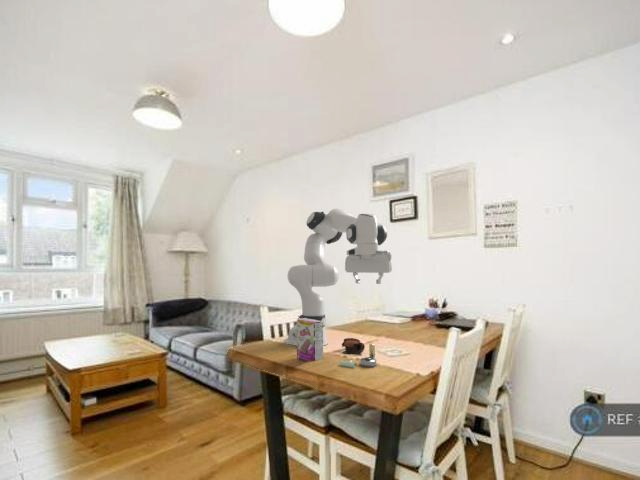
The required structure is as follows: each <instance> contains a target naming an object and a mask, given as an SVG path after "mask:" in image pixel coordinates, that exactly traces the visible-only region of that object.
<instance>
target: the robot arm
mask: <svg viewBox="0 0 640 480" xmlns="http://www.w3.org/2000/svg"><path fill="white" fill-rule="evenodd" d="M306 226H307V228H308V229H310V230H312V231H313V232H314V233H311V234H309V236H308V237H307V239H306V242H305V247H304V254H303V259H304V262H305V263H306V264H299V265H293V266H291V267H290V268H289V269H288V271H287V280H288V283H289V284H290V285H291V286H292V287H294V289H296V291H297V292H298V294H299V296H300V298H301V299H300V300H301V310H302V311H301V313H302V314H300V315H298V316H297V319H302V318H307V319H313V320H318V321H323V346H325V345H327V344H329V342H328V339H327V334H326V327H325V326H326V314H325V299H324V298H323V296H322V295H320V294H319V293H316V292H315V291H313V289H312V288H315V287H317V288H319V287H322V288H323V287H324V288H325V287H331V286H335V285H336V284H337V283H338V281H339V275H340V274H339V273H340V272H339V271H338V269H337V268H336V266H334V265H332V264H330V263H329V261H327V259H326V253H325V252H326V244H327V245H329V244H334V243H336V242H338V241H340V239H341V237H342V236H343V233H346V235H345V236H346V240H347V241H348V242H349V243H350V244H352V245H356V247H353V248H351V249H348V250H346V255H347V256H346V257H345V262H344V271H345V272H346V273H352V276H353V278H354V279H355V281H354V282H355V284H360V283H361V279H360V278H359V277H358V275H359V273H360V274H363V273H367V274H371V273H373V274H375V273H376V274H378V276H379V277H378V278H377V279H376V280H375V283H376V284H377V285H380V284H382V279H383V277H384V274H391V272H392V270H393V267H392V261H391V260H392V254H391V252H390V251H388V250H379V246H381V245H382V244H384V243H385V241H386V240H387V237H388V232H387V231H388V230H387V229H386V227H385V226H384V225H383V224H382V223H378V220H377V217H376V215H375V214H372V213H360V214H358V215H357V216H355V215H353V214H351V213H349V212H347V211H345V210H343V209H341V208H333V209H331V210H330V211H328V213H325V212H324V211H314V212H312V213H310V215H309V216H308V217H307V220H306ZM283 344H287V345H291V346H295V347H297V323H296V324H295V325H294V326H293V327H291V328H290V329H289V331H288V336H287V338H286V339H284V340H283Z"/></svg>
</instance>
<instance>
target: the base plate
mask: <svg viewBox="0 0 640 480" xmlns="http://www.w3.org/2000/svg"><path fill="white" fill-rule="evenodd" d="M339 366H340V367H346V368H351V369H355V368H357V366H358V363H357V362H356V361H355V362H354V361H352V360H340V361H339Z"/></svg>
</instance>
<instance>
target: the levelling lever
mask: <svg viewBox="0 0 640 480" xmlns="http://www.w3.org/2000/svg"><path fill="white" fill-rule="evenodd" d="M368 347H369V348H368V350H369V351H368V352H369V353H368V354H369V355H368V357H367V356H366V357H362V358H360V361H359V364H360V366H361V367H364V368H375V367H377V363H378V362H377V359H376V358H375V356H376V344H375V343H369V344H368Z"/></svg>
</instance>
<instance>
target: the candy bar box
mask: <svg viewBox="0 0 640 480" xmlns="http://www.w3.org/2000/svg"><path fill="white" fill-rule="evenodd" d="M296 324H297V346H296V352H297V353H296V358H297V360H301V361H304V362H307V363H308V362H310V361H319V360H322V359H324V357H323V356H324V345H323V321H318V320H313V319H307V318H302V319H300V318H299V319H298V318H297V319H296Z"/></svg>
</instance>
